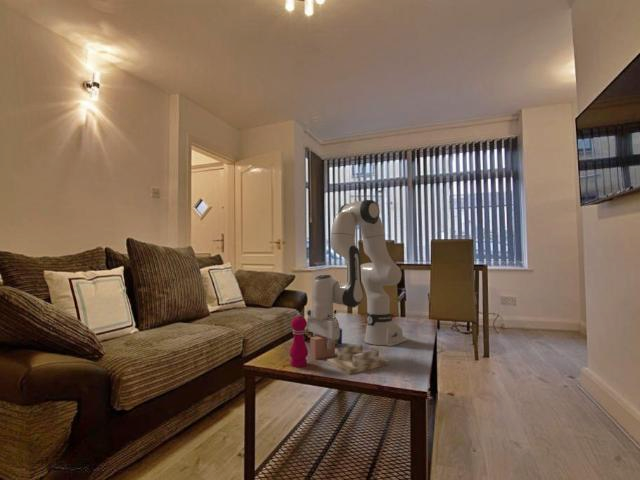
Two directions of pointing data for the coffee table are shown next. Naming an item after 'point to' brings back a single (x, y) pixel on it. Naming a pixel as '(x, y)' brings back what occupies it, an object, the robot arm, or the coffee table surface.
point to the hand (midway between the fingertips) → (322, 345)
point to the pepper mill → (298, 342)
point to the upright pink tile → (320, 347)
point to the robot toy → (310, 334)
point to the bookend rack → (356, 359)
